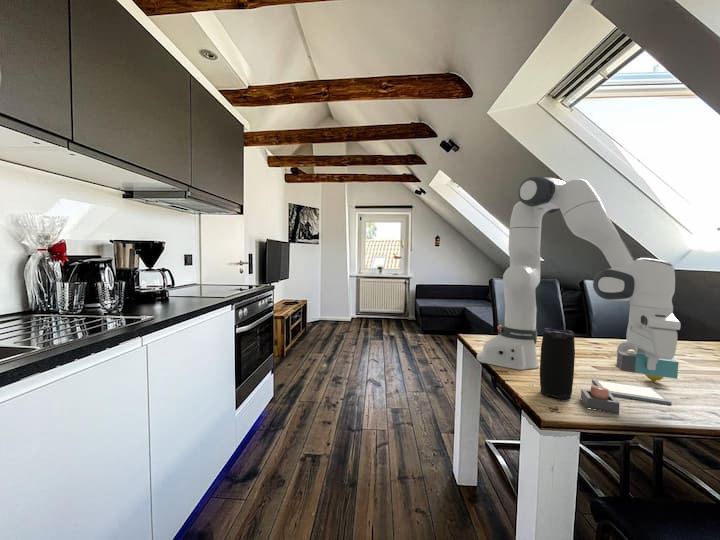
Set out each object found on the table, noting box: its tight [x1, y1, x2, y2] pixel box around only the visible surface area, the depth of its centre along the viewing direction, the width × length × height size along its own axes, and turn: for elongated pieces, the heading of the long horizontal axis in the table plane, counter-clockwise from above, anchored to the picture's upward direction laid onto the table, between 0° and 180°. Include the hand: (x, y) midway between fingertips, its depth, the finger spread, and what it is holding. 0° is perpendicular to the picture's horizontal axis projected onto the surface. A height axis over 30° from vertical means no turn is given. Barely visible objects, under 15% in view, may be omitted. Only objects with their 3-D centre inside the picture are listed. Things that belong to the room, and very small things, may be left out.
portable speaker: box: [539, 327, 576, 401], centre depth 95 cm, size 9×9×20 cm
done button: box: [590, 385, 609, 400], centre depth 89 cm, size 4×4×3 cm
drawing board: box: [591, 378, 673, 406], centre depth 100 cm, size 16×12×1 cm
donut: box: [616, 340, 647, 355], centre depth 128 cm, size 10×4×10 cm, turn 28°
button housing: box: [580, 388, 621, 415], centre depth 89 cm, size 7×7×3 cm
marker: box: [616, 351, 680, 380], centre depth 89 cm, size 12×4×4 cm, turn 67°
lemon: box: [644, 374, 665, 383], centre depth 110 cm, size 6×6×8 cm
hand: (645, 366), depth 89 cm, fingers closed on marker, 4 cm apart
